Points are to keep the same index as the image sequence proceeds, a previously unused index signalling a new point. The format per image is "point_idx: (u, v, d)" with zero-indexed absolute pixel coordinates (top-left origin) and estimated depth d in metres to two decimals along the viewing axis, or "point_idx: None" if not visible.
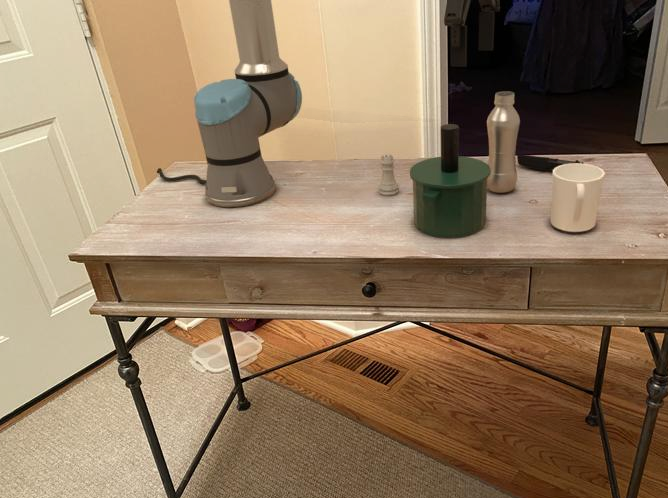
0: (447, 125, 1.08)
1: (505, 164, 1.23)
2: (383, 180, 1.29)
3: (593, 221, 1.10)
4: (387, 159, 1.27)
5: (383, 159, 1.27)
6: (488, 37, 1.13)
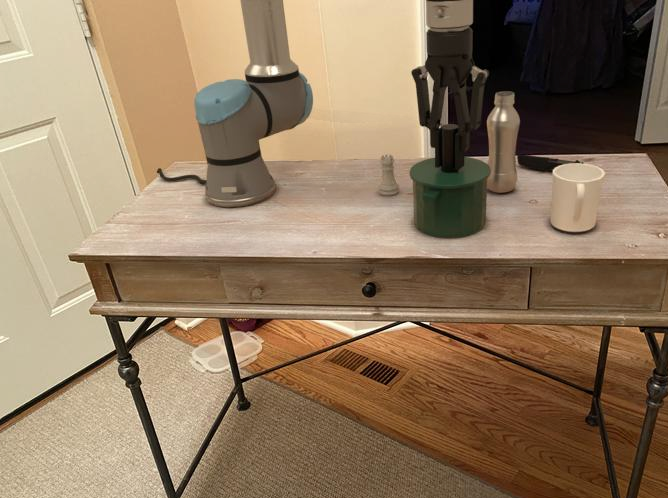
0: (447, 125, 1.08)
1: (505, 164, 1.23)
2: (383, 180, 1.29)
3: (593, 221, 1.10)
4: (387, 159, 1.27)
5: (383, 159, 1.27)
6: None
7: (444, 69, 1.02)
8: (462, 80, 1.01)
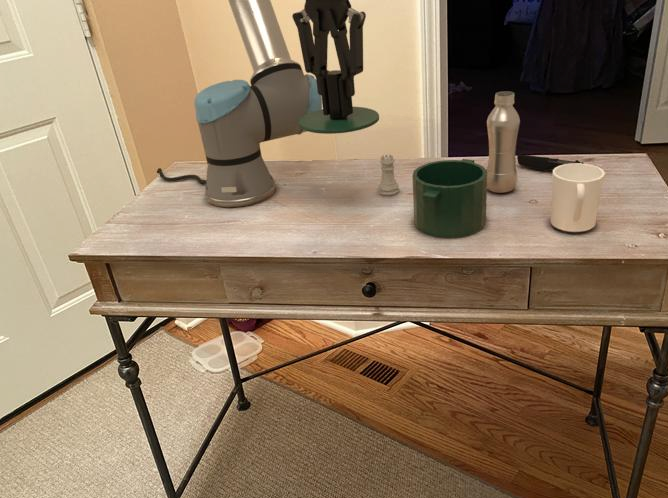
0: (332, 71, 1.08)
1: (505, 164, 1.23)
2: (383, 180, 1.29)
3: (593, 221, 1.10)
4: (387, 159, 1.27)
5: (383, 159, 1.27)
6: None
7: (321, 11, 1.01)
8: (340, 22, 1.01)
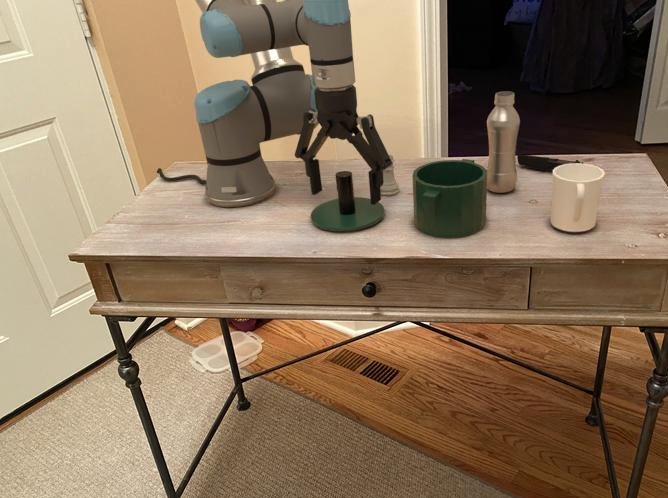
0: (342, 172, 1.18)
1: (505, 164, 1.23)
2: (383, 180, 1.29)
3: (593, 221, 1.10)
4: None
5: None
6: None
7: (332, 122, 1.11)
8: None
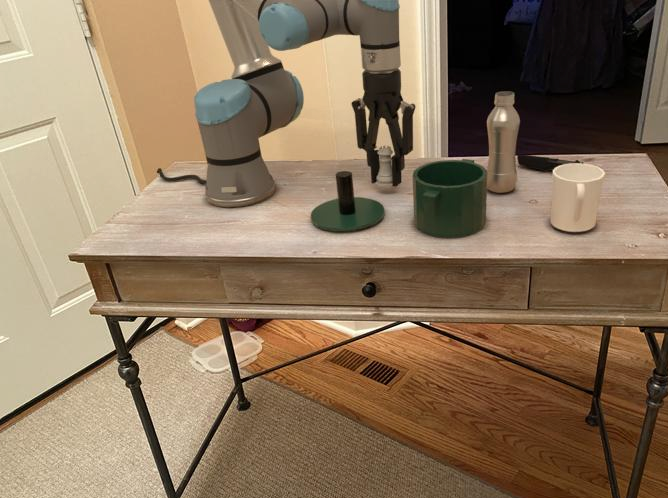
0: (342, 172, 1.18)
1: (505, 164, 1.23)
2: (381, 171, 1.28)
3: (593, 221, 1.10)
4: (385, 150, 1.26)
5: (381, 150, 1.26)
6: None
7: (378, 103, 1.21)
8: (393, 112, 1.21)
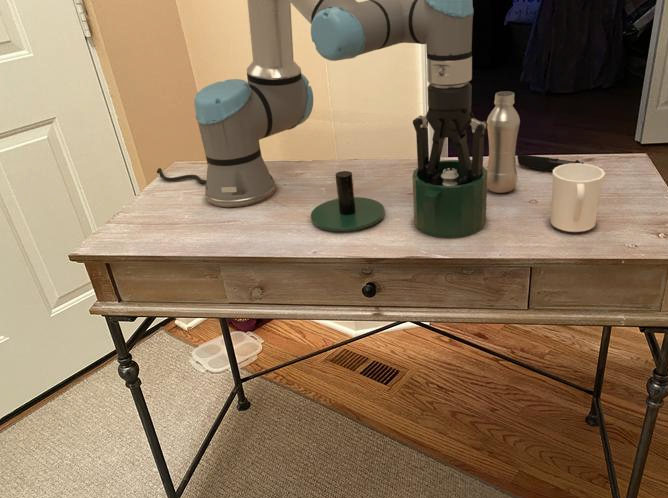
0: (342, 172, 1.18)
1: (505, 164, 1.23)
2: None
3: (593, 221, 1.10)
4: (451, 173, 1.11)
5: (446, 173, 1.11)
6: None
7: (444, 121, 1.06)
8: (462, 132, 1.06)
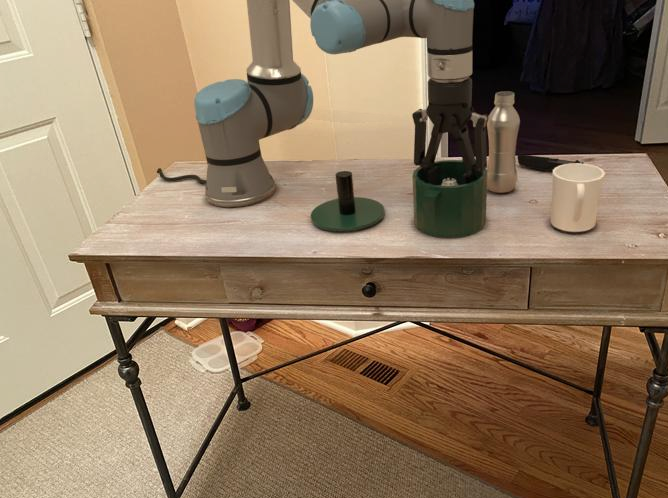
0: (342, 172, 1.18)
1: (505, 164, 1.23)
2: None
3: (593, 221, 1.10)
4: (450, 183, 1.12)
5: (445, 183, 1.12)
6: None
7: (444, 116, 1.06)
8: (462, 126, 1.05)
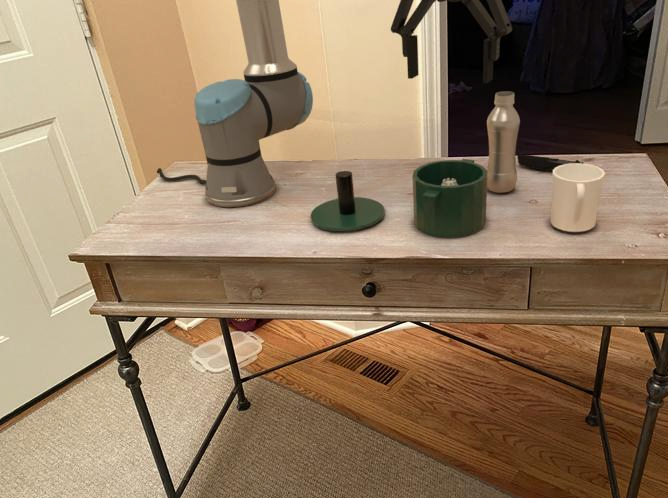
0: (342, 172, 1.18)
1: (505, 164, 1.23)
2: None
3: (593, 221, 1.10)
4: (450, 183, 1.12)
5: (445, 183, 1.12)
6: None
7: None
8: None
